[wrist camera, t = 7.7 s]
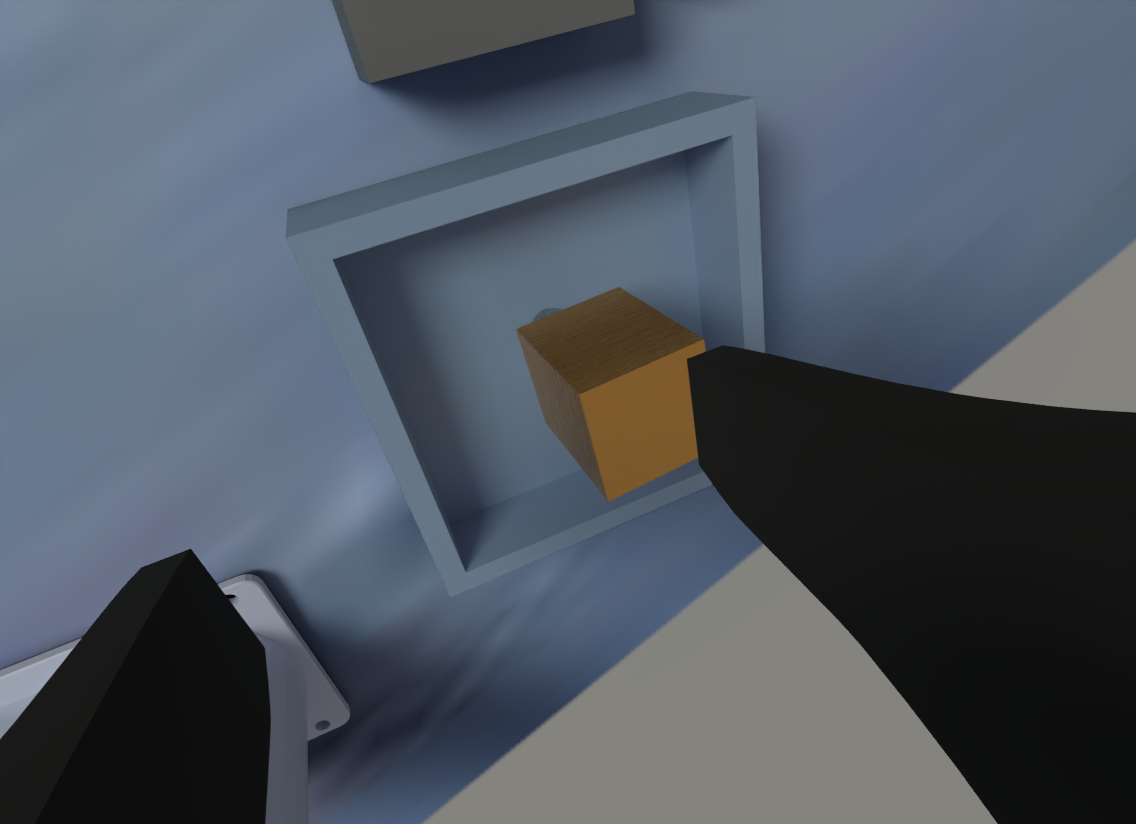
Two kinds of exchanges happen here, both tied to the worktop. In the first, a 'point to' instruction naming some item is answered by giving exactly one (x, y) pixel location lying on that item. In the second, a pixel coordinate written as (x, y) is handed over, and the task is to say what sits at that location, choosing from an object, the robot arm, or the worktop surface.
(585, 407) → the orange rectangular block
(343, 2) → the block
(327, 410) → the worktop surface
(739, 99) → the tray
